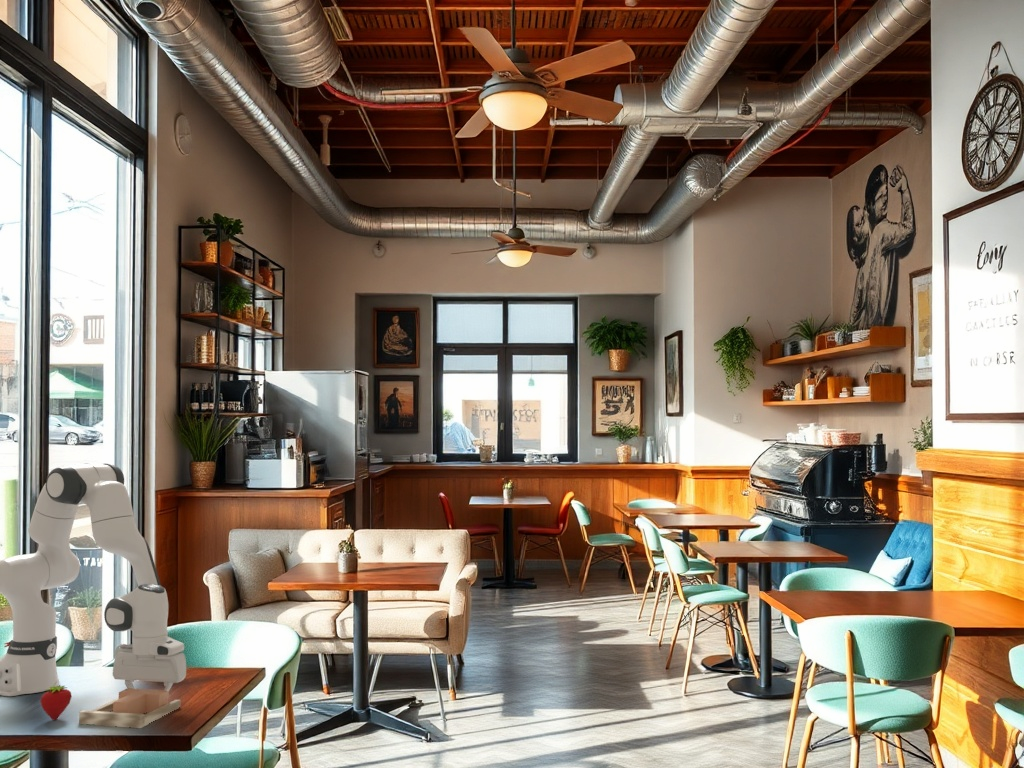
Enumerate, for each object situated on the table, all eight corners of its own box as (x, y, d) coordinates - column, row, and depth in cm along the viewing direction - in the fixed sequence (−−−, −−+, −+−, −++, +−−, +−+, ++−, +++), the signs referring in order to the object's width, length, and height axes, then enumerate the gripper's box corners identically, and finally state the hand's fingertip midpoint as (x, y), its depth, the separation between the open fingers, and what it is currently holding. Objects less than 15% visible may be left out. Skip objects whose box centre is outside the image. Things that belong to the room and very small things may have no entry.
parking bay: (78, 724, 227) (79, 711, 228) (122, 703, 245) (122, 692, 245) (140, 728, 224) (141, 716, 224) (180, 707, 242) (180, 696, 242)
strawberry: (75, 717, 232) (77, 678, 233) (47, 725, 226) (48, 685, 227) (63, 714, 236) (64, 675, 236) (34, 721, 229) (36, 681, 230)
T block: (99, 720, 230) (99, 700, 231) (127, 707, 242) (127, 688, 243) (141, 723, 228) (141, 703, 229) (167, 709, 240) (168, 690, 240)
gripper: (108, 646, 242) (106, 698, 241) (177, 649, 238) (175, 702, 237) (122, 641, 248) (121, 691, 247) (189, 644, 244) (188, 695, 243)
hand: (148, 697), depth 242 cm, fingers open, 8 cm apart
